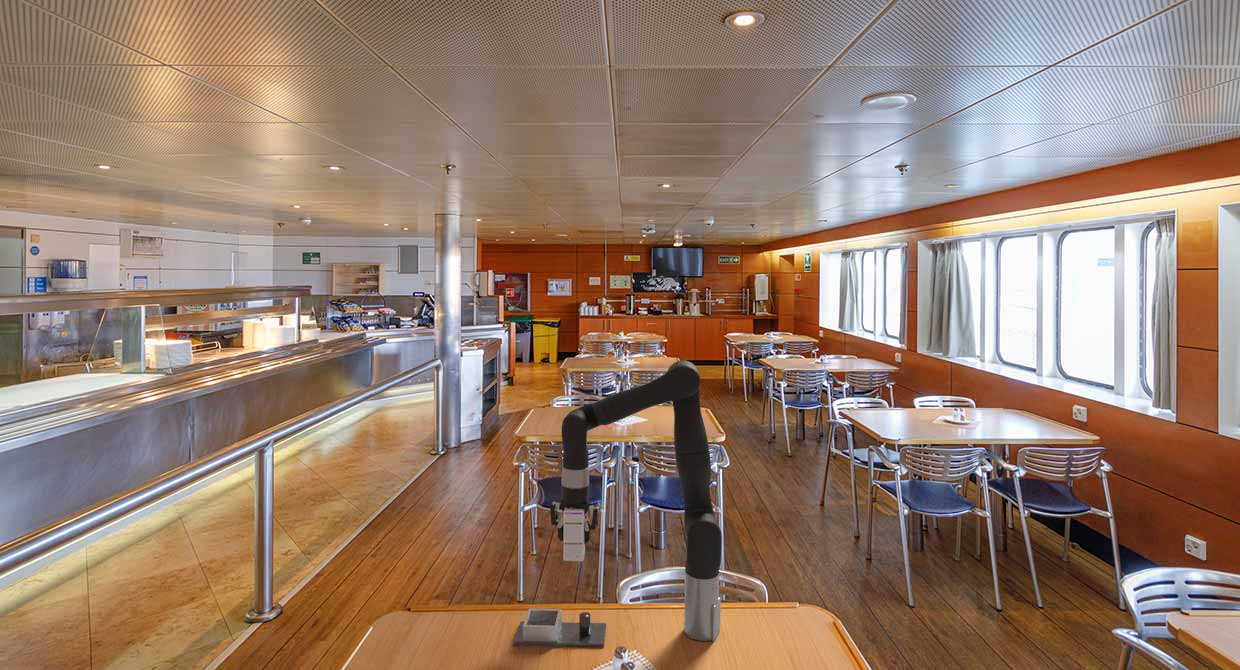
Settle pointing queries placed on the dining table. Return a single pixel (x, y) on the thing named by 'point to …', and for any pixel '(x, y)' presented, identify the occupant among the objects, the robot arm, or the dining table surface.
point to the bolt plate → (559, 630)
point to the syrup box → (573, 535)
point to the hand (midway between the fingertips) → (574, 541)
